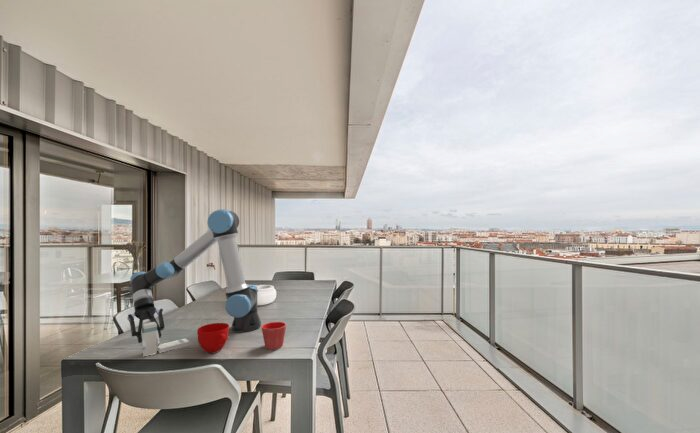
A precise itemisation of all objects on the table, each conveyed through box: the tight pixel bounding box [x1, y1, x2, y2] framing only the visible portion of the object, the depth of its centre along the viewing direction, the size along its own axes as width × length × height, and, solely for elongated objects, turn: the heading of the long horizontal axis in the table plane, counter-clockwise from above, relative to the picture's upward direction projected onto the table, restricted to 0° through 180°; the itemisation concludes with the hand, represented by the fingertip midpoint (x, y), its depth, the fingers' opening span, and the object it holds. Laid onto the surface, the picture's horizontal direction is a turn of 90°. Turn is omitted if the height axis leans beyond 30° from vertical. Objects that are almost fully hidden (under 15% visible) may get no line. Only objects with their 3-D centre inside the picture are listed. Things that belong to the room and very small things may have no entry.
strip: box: [157, 338, 190, 354], centre depth 136 cm, size 12×6×2 cm, turn 135°
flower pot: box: [261, 321, 287, 351], centre depth 136 cm, size 11×11×10 cm
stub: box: [141, 321, 158, 357], centre depth 130 cm, size 5×5×13 cm
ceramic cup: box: [196, 322, 230, 354], centre depth 132 cm, size 13×17×10 cm
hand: (151, 346), depth 127 cm, fingers open, 4 cm apart
